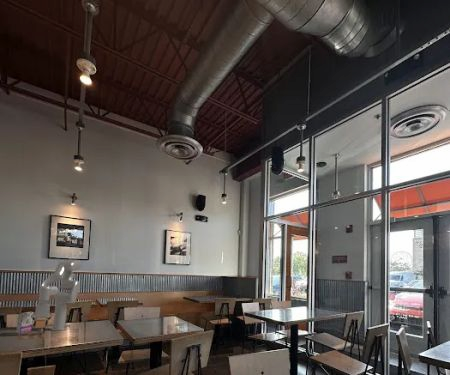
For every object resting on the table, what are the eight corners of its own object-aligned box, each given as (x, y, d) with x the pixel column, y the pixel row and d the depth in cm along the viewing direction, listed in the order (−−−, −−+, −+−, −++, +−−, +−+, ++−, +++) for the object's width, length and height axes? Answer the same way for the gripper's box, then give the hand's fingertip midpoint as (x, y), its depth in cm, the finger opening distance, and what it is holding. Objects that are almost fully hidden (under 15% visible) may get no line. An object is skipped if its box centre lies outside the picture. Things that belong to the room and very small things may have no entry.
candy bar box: (26, 332, 290) (29, 311, 293) (31, 332, 288) (34, 312, 292) (15, 334, 279) (18, 313, 283) (19, 335, 278) (22, 313, 281)
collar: (45, 326, 282) (46, 319, 283) (45, 327, 276) (46, 320, 277) (35, 326, 279) (36, 319, 280) (35, 328, 273) (36, 321, 274)
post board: (46, 334, 284) (47, 324, 285) (46, 339, 266) (47, 329, 268) (18, 336, 275) (19, 326, 277) (15, 341, 258) (17, 330, 259)
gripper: (55, 301, 289) (52, 324, 285) (31, 302, 281) (28, 325, 277) (55, 302, 282) (52, 326, 278) (31, 303, 275) (27, 327, 271)
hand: (40, 325), depth 278 cm, fingers closed on collar, 7 cm apart
